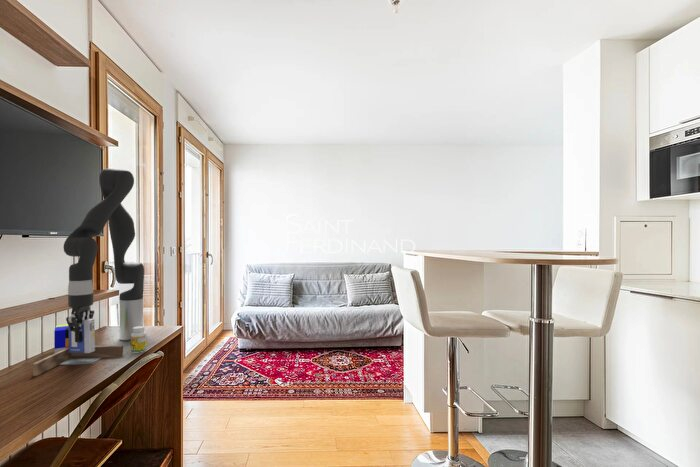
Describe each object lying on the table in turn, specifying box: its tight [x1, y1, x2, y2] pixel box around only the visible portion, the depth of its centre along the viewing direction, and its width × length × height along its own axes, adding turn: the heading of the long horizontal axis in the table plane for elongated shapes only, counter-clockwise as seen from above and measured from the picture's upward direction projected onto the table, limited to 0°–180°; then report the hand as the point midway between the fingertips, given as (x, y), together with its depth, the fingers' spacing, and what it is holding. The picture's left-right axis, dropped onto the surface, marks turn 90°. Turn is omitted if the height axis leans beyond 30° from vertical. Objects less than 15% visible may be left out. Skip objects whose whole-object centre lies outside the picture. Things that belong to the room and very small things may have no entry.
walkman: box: [69, 318, 96, 353], centre depth 143 cm, size 8×3×12 cm, turn 86°
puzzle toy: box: [53, 323, 69, 354], centre depth 154 cm, size 10×10×10 cm
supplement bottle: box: [130, 325, 148, 354], centre depth 155 cm, size 5×5×10 cm
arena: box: [32, 345, 124, 377], centre depth 139 cm, size 19×19×4 cm
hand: (80, 340), depth 143 cm, fingers closed on walkman, 2 cm apart
